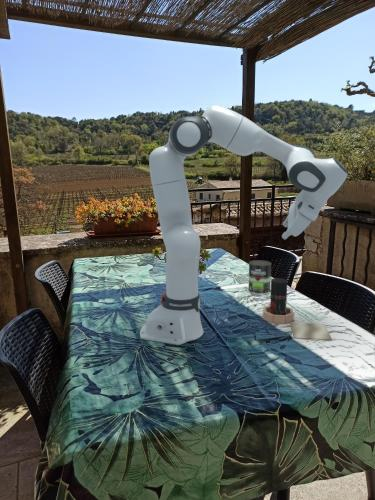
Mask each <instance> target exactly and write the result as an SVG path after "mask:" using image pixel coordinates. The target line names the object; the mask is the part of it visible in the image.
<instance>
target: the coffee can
mask: <svg viewBox="0 0 375 500" xmlns="http://www.w3.org/2000/svg"><path fill="white" fill-rule="evenodd" d="M271 273H272V262H270V261H268V260H263V259H262V260H260V259H257V260H256V259H255V260H254V259H253V260H250V261H249V262H248V293H250V294H252V295H257V296H265V295H266V296H267V295H269V294H271V279H272V277H271V276H272V274H271Z"/></svg>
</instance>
